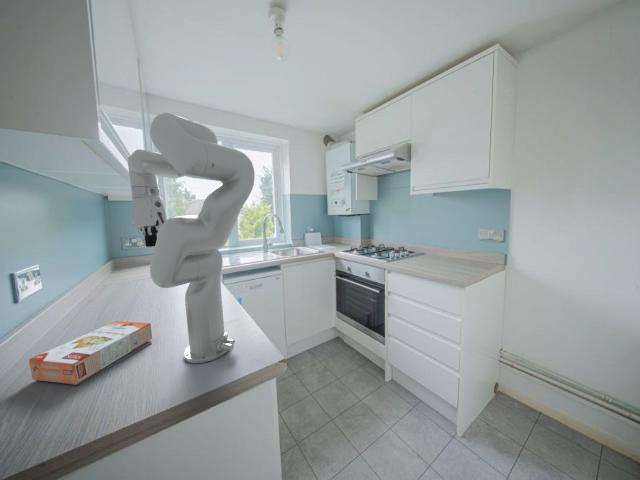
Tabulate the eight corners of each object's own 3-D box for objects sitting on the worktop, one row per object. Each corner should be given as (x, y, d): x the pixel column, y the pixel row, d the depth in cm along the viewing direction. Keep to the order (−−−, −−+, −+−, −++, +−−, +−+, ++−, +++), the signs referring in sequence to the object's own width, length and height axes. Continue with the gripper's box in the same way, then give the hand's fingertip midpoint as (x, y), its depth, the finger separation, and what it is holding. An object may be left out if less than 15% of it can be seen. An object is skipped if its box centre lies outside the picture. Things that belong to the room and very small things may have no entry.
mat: (151, 343, 72) (151, 342, 72) (79, 384, 55) (79, 383, 55) (115, 338, 76) (115, 337, 76) (38, 374, 59) (37, 373, 59)
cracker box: (151, 321, 74) (72, 363, 53) (153, 338, 74) (76, 386, 54) (115, 319, 76) (26, 359, 56) (117, 336, 77) (30, 381, 56)
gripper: (172, 193, 79) (178, 244, 81) (140, 195, 83) (146, 245, 85) (151, 190, 72) (158, 247, 74) (117, 194, 76) (124, 247, 78)
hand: (152, 246), depth 79 cm, fingers closed
